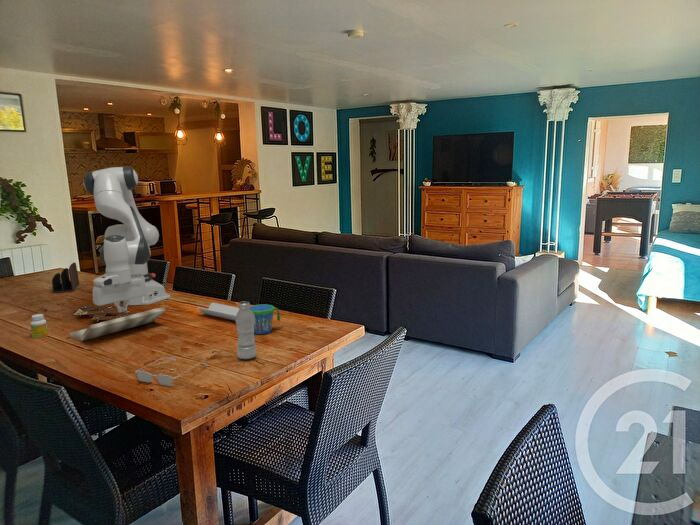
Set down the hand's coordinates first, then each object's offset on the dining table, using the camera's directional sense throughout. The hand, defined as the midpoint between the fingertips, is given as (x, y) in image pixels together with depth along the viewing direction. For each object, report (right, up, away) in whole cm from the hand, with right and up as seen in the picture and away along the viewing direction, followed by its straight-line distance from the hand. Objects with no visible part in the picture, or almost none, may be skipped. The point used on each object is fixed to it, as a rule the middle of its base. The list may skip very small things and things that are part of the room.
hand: (122, 311), depth 195 cm
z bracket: (+36, -5, +25) cm, 44 cm away
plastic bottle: (+54, -14, -24) cm, 61 cm away
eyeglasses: (+33, -17, -34) cm, 50 cm away
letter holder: (-70, +4, +83) cm, 109 cm away
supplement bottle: (-33, -11, 0) cm, 34 cm away
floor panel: (-2, -10, +4) cm, 11 cm away
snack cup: (+55, -9, +4) cm, 55 cm away
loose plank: (+1, -5, +1) cm, 6 cm away
